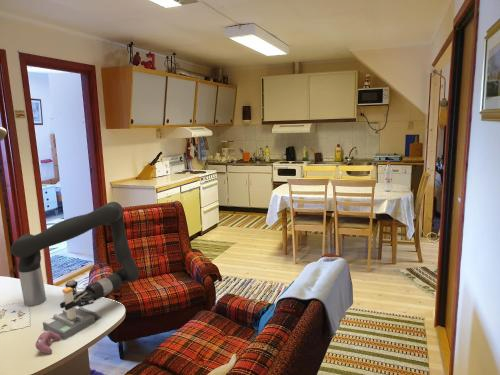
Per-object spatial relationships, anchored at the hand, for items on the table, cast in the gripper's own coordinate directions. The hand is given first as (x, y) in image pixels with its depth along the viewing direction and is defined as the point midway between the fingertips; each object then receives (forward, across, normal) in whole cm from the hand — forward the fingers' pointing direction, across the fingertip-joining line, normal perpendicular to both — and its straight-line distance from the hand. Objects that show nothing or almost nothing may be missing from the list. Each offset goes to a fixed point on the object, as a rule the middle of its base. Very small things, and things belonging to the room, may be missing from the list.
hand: (63, 307), depth 154 cm
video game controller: (+10, +4, +11) cm, 16 cm away
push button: (-16, -21, +11) cm, 28 cm away
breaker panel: (-3, -3, +11) cm, 12 cm away
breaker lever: (-3, 0, +8) cm, 8 cm away
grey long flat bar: (-12, -3, +11) cm, 16 cm away
